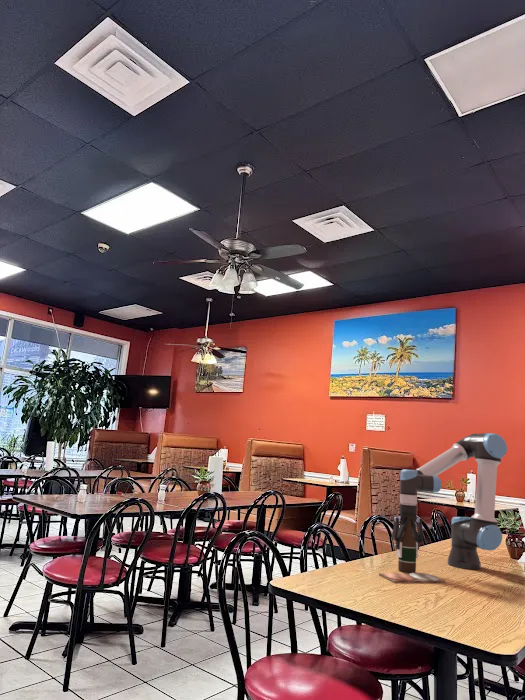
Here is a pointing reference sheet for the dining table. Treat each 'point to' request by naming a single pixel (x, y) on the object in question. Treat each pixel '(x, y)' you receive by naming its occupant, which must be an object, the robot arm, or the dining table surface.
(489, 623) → the dining table surface
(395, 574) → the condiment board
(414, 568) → the beer bottle
